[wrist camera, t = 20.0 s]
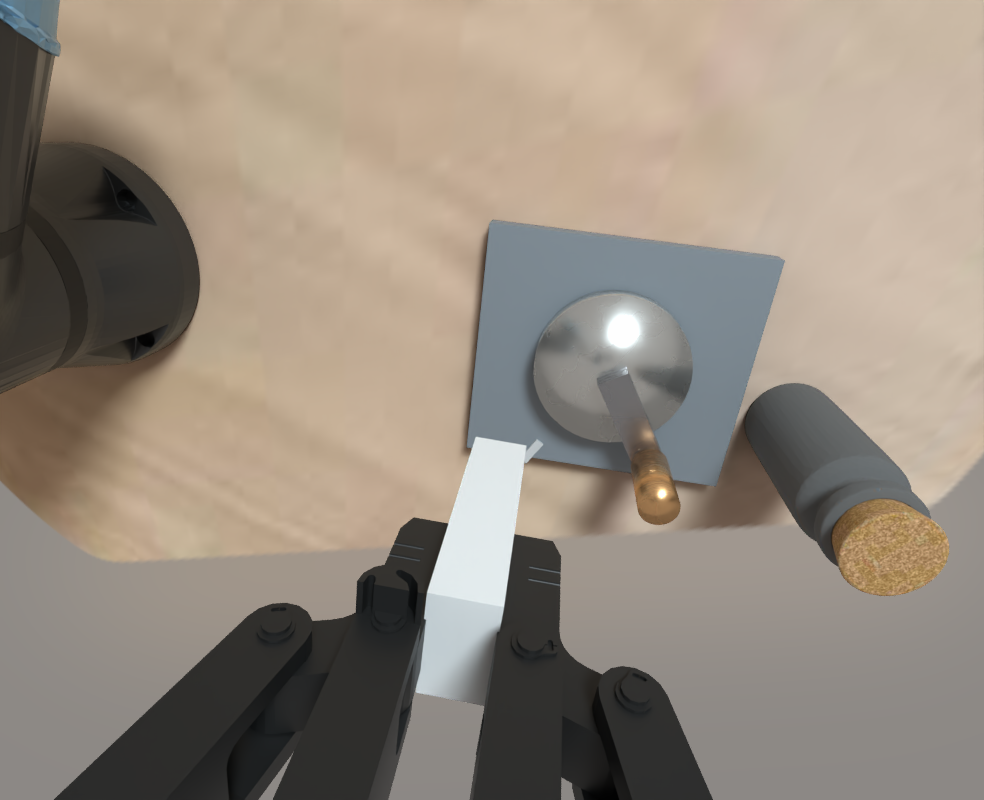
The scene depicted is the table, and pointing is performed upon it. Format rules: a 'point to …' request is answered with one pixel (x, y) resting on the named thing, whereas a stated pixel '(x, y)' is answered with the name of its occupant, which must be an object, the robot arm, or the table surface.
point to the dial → (618, 383)
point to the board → (630, 267)
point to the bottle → (845, 492)
